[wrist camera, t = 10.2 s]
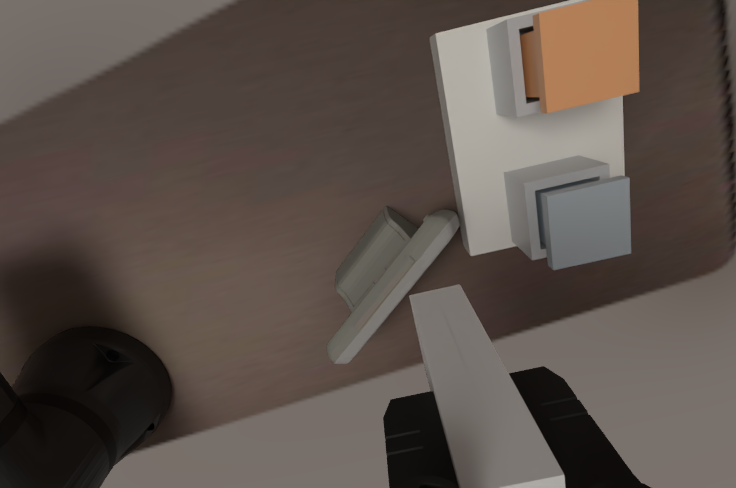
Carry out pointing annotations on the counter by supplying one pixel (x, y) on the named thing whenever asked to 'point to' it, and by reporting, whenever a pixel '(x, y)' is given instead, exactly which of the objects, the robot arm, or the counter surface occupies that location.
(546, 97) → the orange plunger
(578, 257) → the grey plunger
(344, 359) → the digital clock
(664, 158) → the counter surface
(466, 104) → the button console
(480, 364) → the robot arm
